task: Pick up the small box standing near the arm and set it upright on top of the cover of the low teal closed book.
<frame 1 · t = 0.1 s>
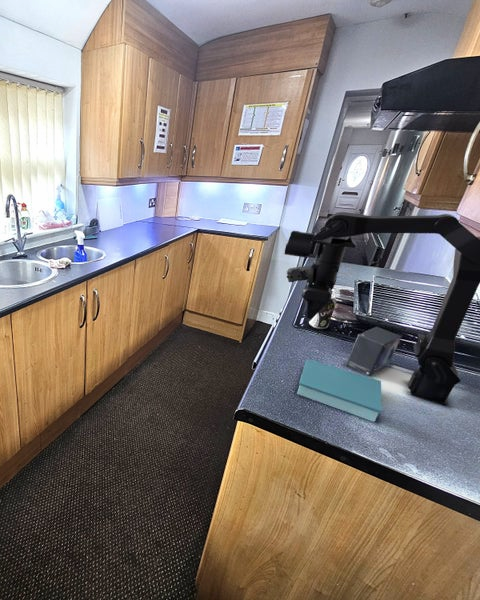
hand: (311, 312, 94), 15 cm above the worktop, tool pointing down, fingers open, 9 cm apart
small box: (366, 366, 95), on the worktop
beverage can: (317, 326, 117), on the worktop
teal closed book: (335, 393, 84), on the worktop
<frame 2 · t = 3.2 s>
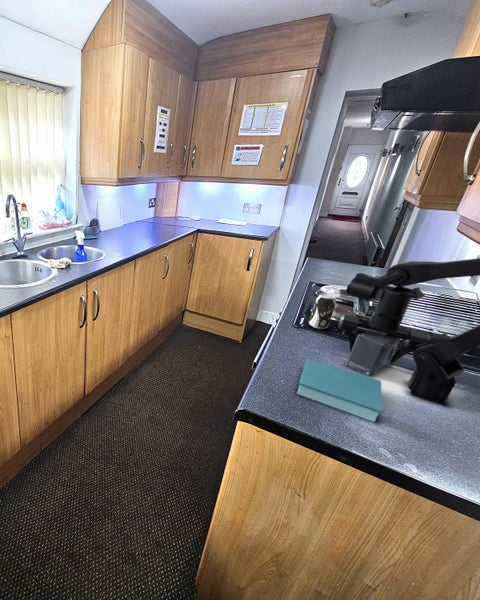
hand: (370, 357, 94), 3 cm above the worktop, tool pointing down
small box: (366, 366, 95), on the worktop, touching gripper
everything else where it was.
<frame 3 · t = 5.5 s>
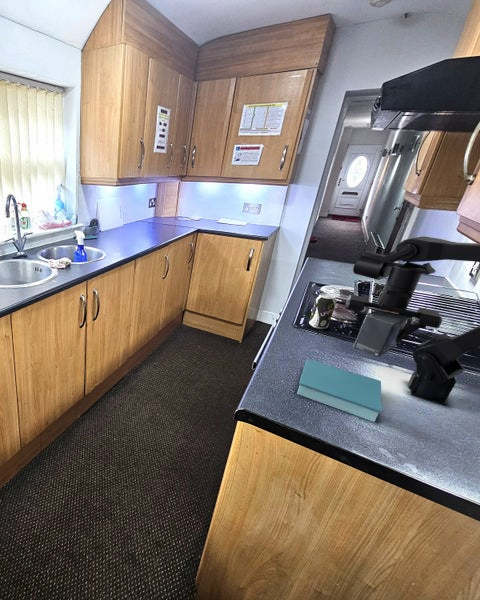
hand: (378, 337, 91), 10 cm above the worktop, tool pointing down, fingers closed on small box, 7 cm apart
small box: (373, 348, 92), point 6 cm above the worktop, touching gripper
everything else where it was.
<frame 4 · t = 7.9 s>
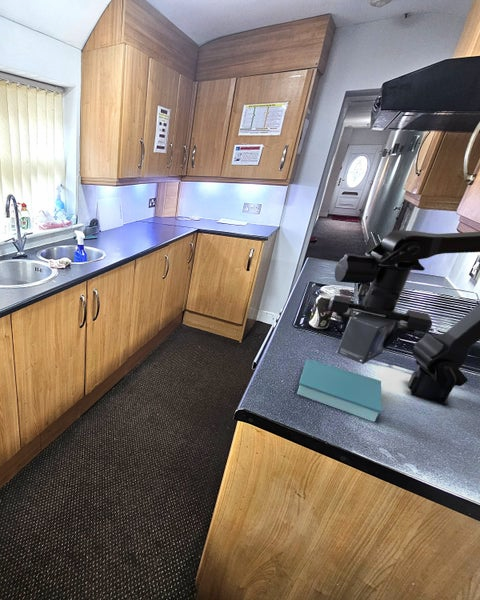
hand: (364, 342, 83), 12 cm above the worktop, tool pointing down, fingers closed on small box, 7 cm apart
small box: (359, 354, 85), point 9 cm above the worktop, touching gripper
everything else where it was.
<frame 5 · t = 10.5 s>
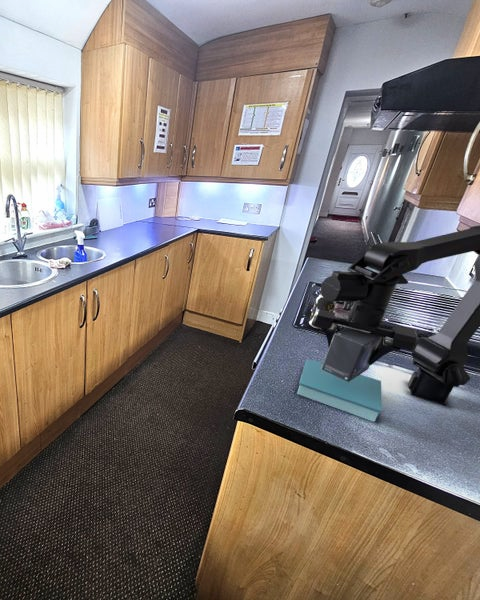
hand: (349, 358, 80), 11 cm above the worktop, tool pointing down, fingers closed on small box, 7 cm apart
small box: (344, 370, 81), point 7 cm above the worktop, touching gripper
everything else where it was.
when the fingers open (7 cm above the worktop, at t = 12.6 s): small box stays where it is, resting on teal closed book.
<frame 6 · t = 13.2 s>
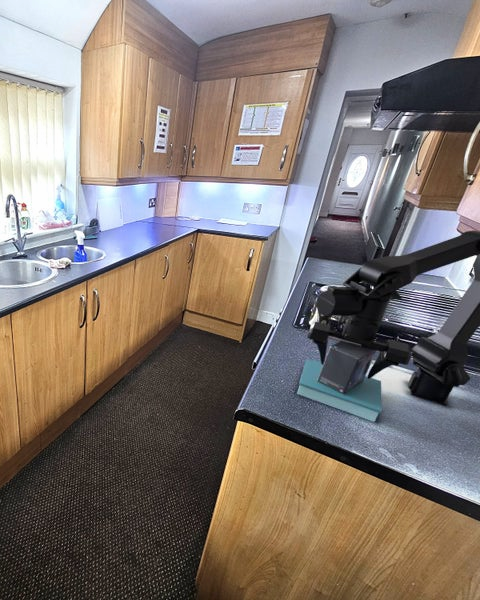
hand: (344, 370, 81), 7 cm above the worktop, tool pointing down, fingers open, 9 cm apart
small box: (340, 382, 83), point 3 cm above the worktop, touching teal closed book
everything else where it was.
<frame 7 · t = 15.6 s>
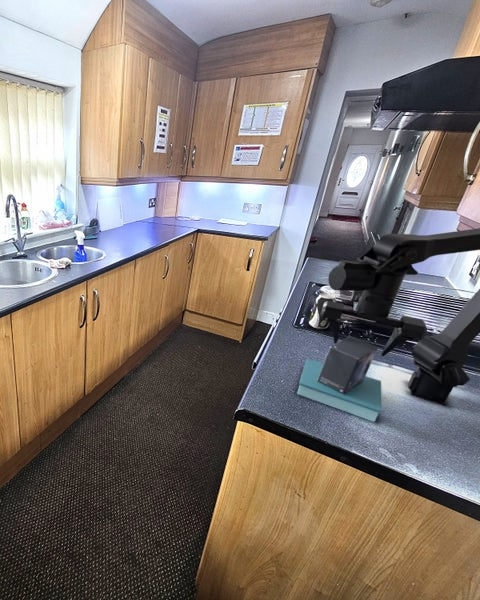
hand: (358, 349, 81), 12 cm above the worktop, tool pointing down, fingers open, 9 cm apart
nothing on the worktop moved.
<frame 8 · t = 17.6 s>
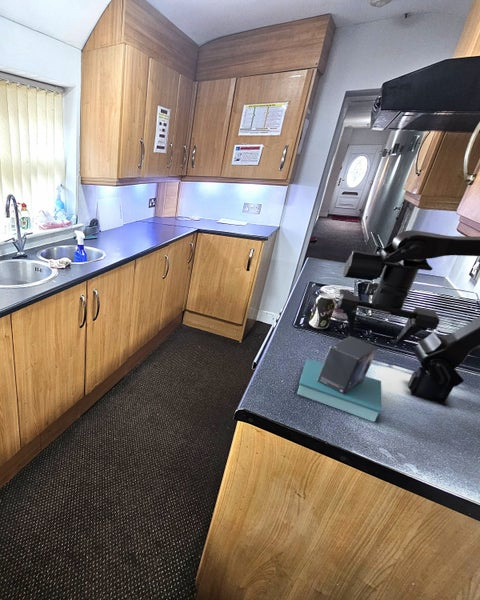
hand: (372, 339, 85), 12 cm above the worktop, tool pointing down, fingers open, 9 cm apart
nothing on the worktop moved.
at the end: small box inside the target area on the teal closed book (0.1 cm from its centre), point 3.4 cm above the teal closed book's base; small box tilted 0° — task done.
